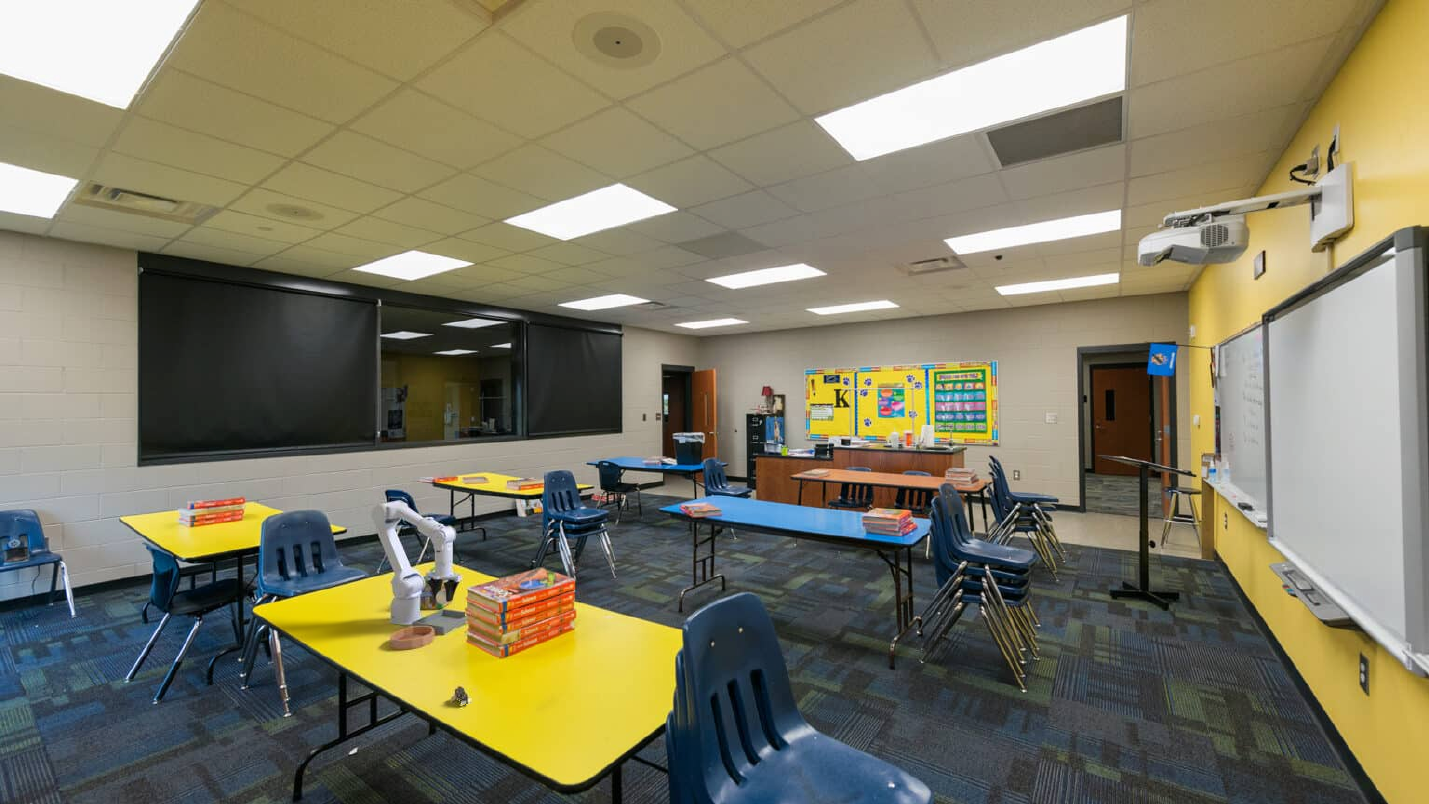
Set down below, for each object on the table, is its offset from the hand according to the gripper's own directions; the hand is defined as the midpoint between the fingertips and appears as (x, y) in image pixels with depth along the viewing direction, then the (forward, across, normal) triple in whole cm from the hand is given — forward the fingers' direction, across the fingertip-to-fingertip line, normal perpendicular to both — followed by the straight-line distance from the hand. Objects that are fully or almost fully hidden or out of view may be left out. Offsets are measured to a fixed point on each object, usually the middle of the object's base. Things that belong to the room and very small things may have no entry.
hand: (443, 600), depth 201 cm
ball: (-1, 0, 0) cm, 1 cm away
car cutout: (+10, +50, -42) cm, 66 cm away
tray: (+9, 0, 0) cm, 9 cm away
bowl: (+9, +2, -15) cm, 18 cm away
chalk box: (+9, -19, +15) cm, 26 cm away
